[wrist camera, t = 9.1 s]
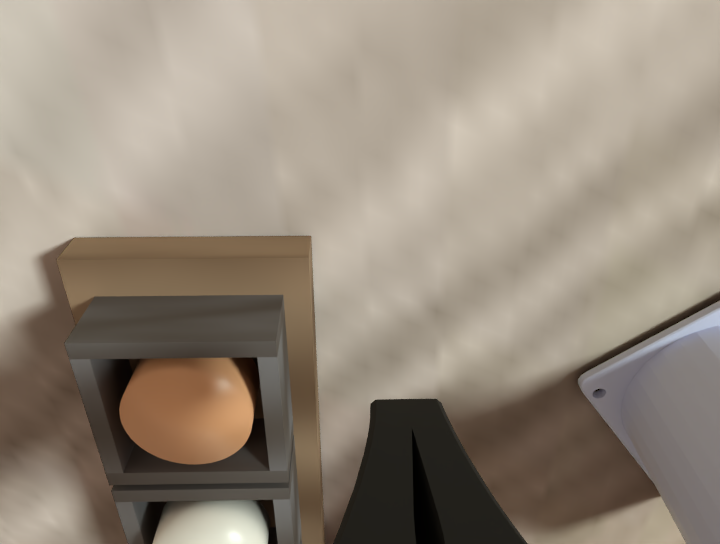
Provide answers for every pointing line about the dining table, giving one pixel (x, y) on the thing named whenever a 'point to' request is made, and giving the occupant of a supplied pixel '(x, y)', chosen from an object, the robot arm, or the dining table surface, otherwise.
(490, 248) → the dining table surface
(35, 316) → the dining table surface
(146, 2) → the dining table surface
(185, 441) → the terracotta button
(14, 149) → the dining table surface
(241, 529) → the cream button
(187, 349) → the button panel
